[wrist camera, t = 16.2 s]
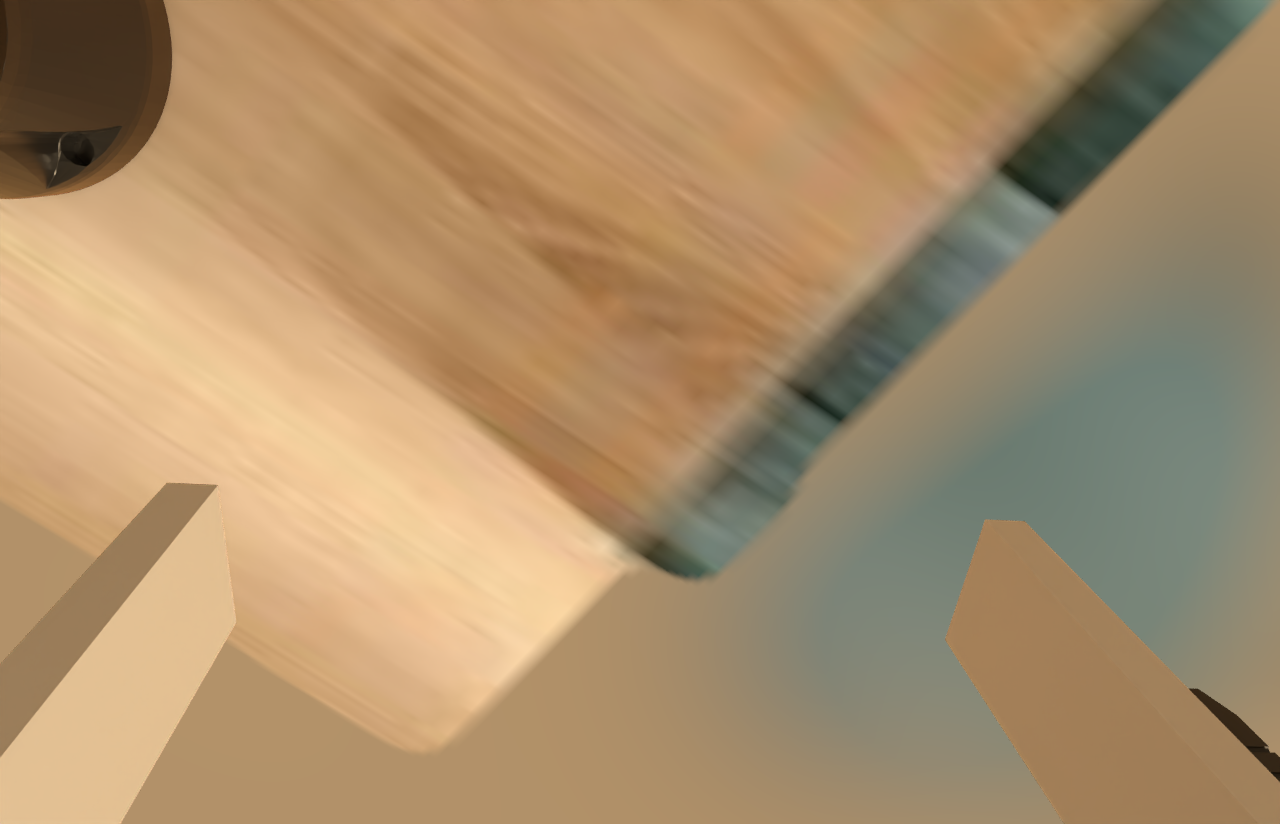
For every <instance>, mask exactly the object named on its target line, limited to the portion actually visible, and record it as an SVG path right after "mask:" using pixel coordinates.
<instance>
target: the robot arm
mask: <svg viewBox="0 0 1280 824" xmlns="http://www.w3.org/2000/svg"><path fill="white" fill-rule="evenodd" d="M171 69H172V47H171V36H170V28H169V23H168V18H167V13H166V9H165V6H164V2H163V0H0V199H22V198H32V197H42V196H51V195H59V194H65V193H70V192H73V191H77V190H81V189H84V188H86V187H89V186H92V185H94V184H96V183H98V182H101V181H102V180H104V179H106V178H108V177H110V176H111V175H113V174H114V173H116V172H117V171H119V170H120V169H121V168H123V167H124V166H125V165H126V164H127V163H129V162H130V161H131V160H132V159H133V158H134V157H135V156H136V155H137V154H138V152H139V151H140V150H141V149H142V148H143V146H144V145H145V144H146V142H147V141H148V139H149V138H150V136H151V135H152V133H153V131H154V129H155V128H156V126H157V124H158V121H159V119H160V117H161V115H162V112H163V109H164V106H165V103H166V99H167V95H168V91H169V86H170V79H171ZM235 624H236V616H235V608H234V601H233V593H232V586H231V578H230V571H229V563H228V556H227V548H226V541H225V534H224V526H223V519H222V511H221V504H220V496H219V489H218V485H206V484H184V483H166V485H165V486H164V487H163V488H162V489H161V490H160V491H159V492H158V493H157V494H156V495H155V496H154V498H153V499H152V500H151V501H150V502H149V503H148V504H147V505H146V506H145V507H144V508H143V509H142V511H141V512H140V513H139V514H138V515H137V516H136V517H135V518H134V519H133V520H132V521H131V523H130V524H129V525H128V526H127V527H126V528H125V529H124V530H123V531H122V532H121V533H120V534H119V536H118V537H117V538H116V539H115V540H114V541H113V542H112V543H111V544H110V545H109V546H108V547H107V549H106V550H105V551H104V552H103V553H102V554H101V555H100V556H99V557H98V558H97V559H96V560H95V562H94V563H93V564H92V565H91V566H90V567H89V568H88V569H87V570H86V571H85V573H84V574H83V575H82V576H81V577H80V578H79V579H78V580H77V581H76V582H75V583H74V584H73V586H72V587H71V588H70V589H69V590H68V591H67V592H66V593H65V594H64V595H63V596H62V597H61V599H60V600H59V601H58V602H57V603H56V604H55V605H54V606H53V607H52V608H51V609H50V611H49V612H48V613H47V614H46V615H45V616H44V617H43V618H42V619H41V620H40V621H39V622H38V623H37V625H36V626H35V627H34V628H33V629H32V630H31V631H30V632H29V633H28V634H27V635H26V636H25V638H24V639H23V640H22V641H21V642H20V643H19V644H18V645H17V646H16V647H15V648H14V649H13V651H12V652H11V653H10V654H9V655H8V656H7V657H6V658H5V659H4V660H3V662H2V663H1V664H0V824H121V822H122V820H123V818H124V817H125V815H126V813H127V811H128V810H129V808H130V806H131V804H132V803H133V801H134V799H135V798H136V796H137V794H138V792H139V790H140V789H141V787H142V785H143V784H144V782H145V780H146V778H147V777H148V775H149V773H150V771H151V770H152V768H153V766H154V764H155V763H156V761H157V759H158V757H159V756H160V754H161V752H162V751H163V749H164V747H165V745H166V744H167V742H168V740H169V738H170V736H171V735H172V733H173V731H174V730H175V728H176V726H177V724H178V723H179V721H180V719H181V718H182V716H183V714H184V712H185V711H186V709H187V707H188V705H189V703H190V702H191V700H192V698H193V697H194V695H195V693H196V691H197V690H198V688H199V686H200V685H201V683H202V681H203V679H204V677H205V676H206V674H207V672H208V671H209V669H210V667H211V665H212V664H213V662H214V660H215V658H216V657H217V655H218V653H219V651H220V650H221V648H222V646H223V645H224V643H225V641H226V639H227V638H228V636H229V634H230V632H231V631H232V629H233V627H234V625H235ZM945 640H946V642H947V643H948V645H949V647H950V648H951V650H952V651H953V653H954V654H955V656H956V657H957V659H958V661H959V662H960V664H961V665H962V667H963V668H964V670H965V671H966V673H967V674H968V676H969V678H970V679H971V681H972V682H973V684H974V685H975V687H976V688H977V690H978V691H979V693H980V695H981V696H982V698H983V699H984V701H985V702H986V704H987V705H988V707H989V708H990V710H991V712H992V713H993V715H994V716H995V718H996V719H997V721H998V722H999V724H1000V725H1001V727H1002V729H1003V730H1004V732H1005V733H1006V735H1007V736H1008V738H1009V739H1010V741H1011V742H1012V744H1013V746H1014V747H1015V749H1016V750H1017V752H1018V753H1019V755H1020V756H1021V758H1022V759H1023V761H1024V763H1025V764H1026V766H1027V767H1028V769H1029V770H1030V772H1031V774H1032V775H1033V777H1034V778H1035V779H1036V781H1037V783H1038V784H1039V786H1040V787H1041V789H1042V790H1043V792H1044V794H1045V795H1046V797H1047V798H1048V800H1049V801H1050V803H1051V804H1052V806H1053V807H1054V809H1055V811H1056V812H1057V814H1058V815H1059V817H1060V818H1061V820H1062V821H1063V823H1064V824H1280V757H1279V756H1278V755H1277V754H1276V753H1270V752H1269V749H1268V745H1267V744H1266V743H1264V742H1263V740H1262V739H1261V738H1259V737H1258V736H1257V735H1256V734H1255V733H1254V732H1253V731H1252V730H1251V729H1250V728H1249V727H1248V726H1247V725H1246V724H1245V723H1244V722H1243V721H1242V720H1241V719H1240V718H1239V717H1238V716H1237V715H1236V714H1234V713H1233V712H1231V711H1230V710H1228V709H1227V708H1225V707H1224V706H1222V705H1221V704H1220V703H1218V702H1217V701H1215V700H1214V699H1212V698H1211V697H1209V696H1208V695H1206V694H1205V693H1203V692H1201V691H1200V690H1199V689H1188V688H1187V687H1186V686H1185V685H1184V684H1183V683H1182V682H1181V681H1180V680H1179V679H1178V678H1177V677H1176V675H1174V673H1173V672H1172V671H1171V670H1170V669H1169V668H1168V667H1167V666H1166V665H1165V664H1164V663H1163V662H1162V661H1161V660H1160V659H1159V658H1158V657H1157V656H1156V655H1155V654H1154V653H1153V652H1152V651H1151V650H1150V649H1149V648H1148V647H1147V646H1146V645H1145V644H1144V643H1143V642H1142V641H1141V640H1140V639H1139V638H1138V637H1137V636H1136V635H1135V634H1134V633H1133V632H1132V631H1131V630H1130V628H1128V626H1127V625H1126V624H1124V622H1123V621H1122V620H1121V619H1120V618H1119V617H1118V616H1117V615H1116V614H1115V613H1114V612H1113V611H1112V610H1111V609H1110V608H1109V607H1108V606H1107V605H1106V604H1105V603H1104V602H1103V601H1102V600H1101V599H1100V598H1099V597H1098V596H1097V595H1096V594H1095V593H1094V592H1093V591H1092V590H1091V589H1090V588H1089V587H1088V586H1087V585H1086V584H1085V582H1083V580H1082V579H1081V578H1080V577H1079V576H1078V575H1077V574H1076V573H1075V572H1074V571H1073V570H1072V569H1071V568H1070V567H1069V566H1068V565H1067V564H1066V563H1065V562H1064V561H1063V560H1062V559H1061V558H1060V557H1059V556H1058V555H1057V554H1056V553H1055V552H1054V551H1053V550H1052V549H1051V548H1050V547H1049V546H1048V545H1047V544H1046V543H1045V542H1044V541H1043V540H1042V539H1041V538H1040V537H1039V536H1038V535H1037V533H1035V531H1034V530H1033V529H1031V527H1030V526H1029V525H1028V524H1027V523H1026V522H1025V521H1007V520H1006V521H1004V520H985V522H984V525H983V528H982V531H981V534H980V537H979V540H978V543H977V546H976V549H975V552H974V555H973V558H972V561H971V564H970V567H969V570H968V573H967V575H966V579H965V582H964V584H963V588H962V590H961V593H960V596H959V599H958V602H957V605H956V608H955V611H954V614H953V617H952V620H951V623H950V626H949V629H948V632H947V635H946V638H945Z"/></svg>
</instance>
